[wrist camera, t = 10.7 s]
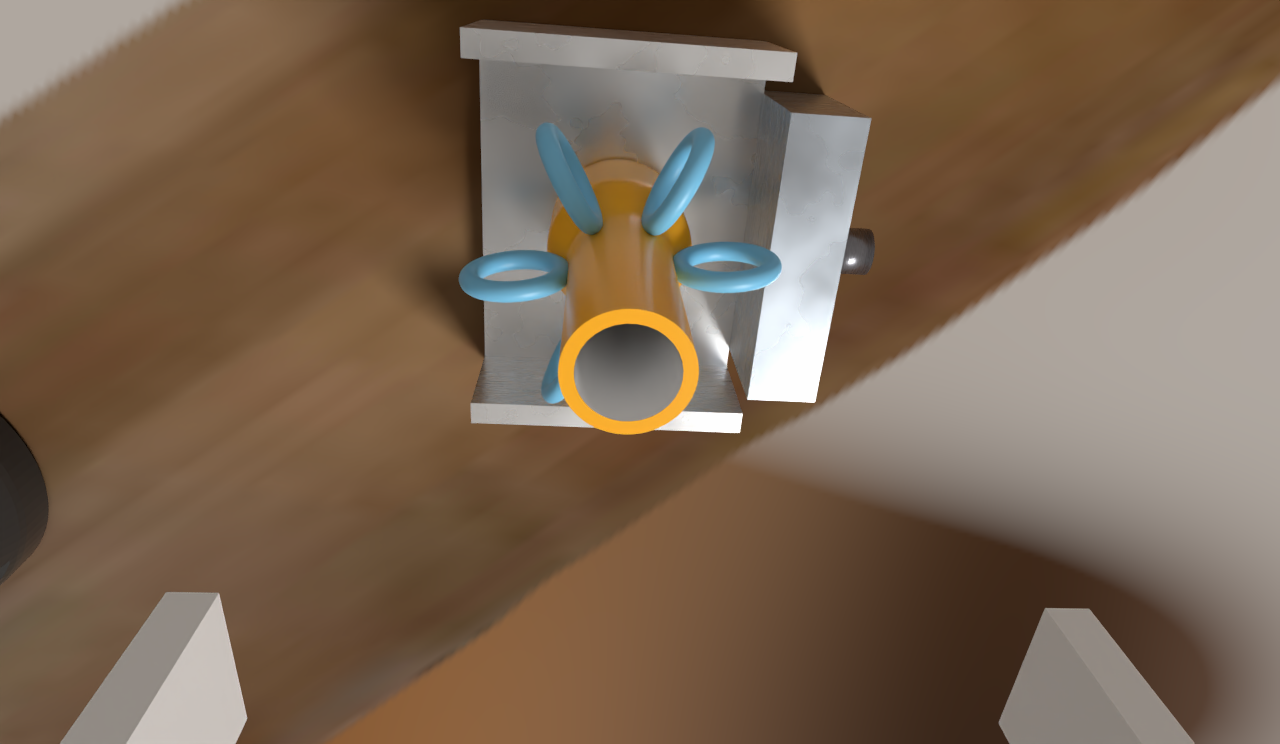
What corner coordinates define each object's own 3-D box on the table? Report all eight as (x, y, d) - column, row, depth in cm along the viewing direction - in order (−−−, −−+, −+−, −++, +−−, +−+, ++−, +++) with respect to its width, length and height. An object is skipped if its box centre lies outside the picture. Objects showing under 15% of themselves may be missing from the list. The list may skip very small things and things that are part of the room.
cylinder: (581, 33, 32) (568, 76, 18) (786, 164, 34) (905, 283, 21) (454, 278, 36) (369, 455, 23) (645, 376, 39) (669, 585, 26)
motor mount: (488, 362, 39) (469, 428, 34) (482, 19, 32) (457, 27, 27) (814, 376, 41) (850, 442, 35) (878, 49, 34) (937, 64, 28)
